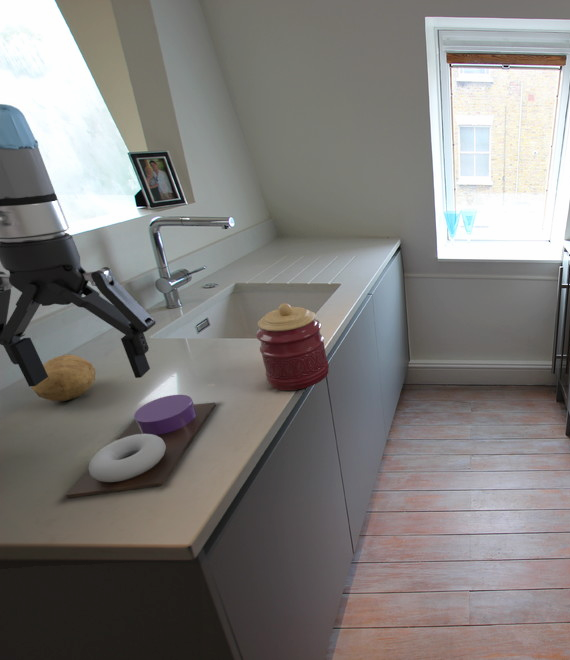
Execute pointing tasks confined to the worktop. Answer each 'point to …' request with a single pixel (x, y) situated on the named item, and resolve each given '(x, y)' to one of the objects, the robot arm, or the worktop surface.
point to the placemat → (158, 473)
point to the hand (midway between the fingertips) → (92, 377)
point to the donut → (127, 458)
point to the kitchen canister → (292, 348)
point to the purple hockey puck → (165, 414)
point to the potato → (66, 378)
